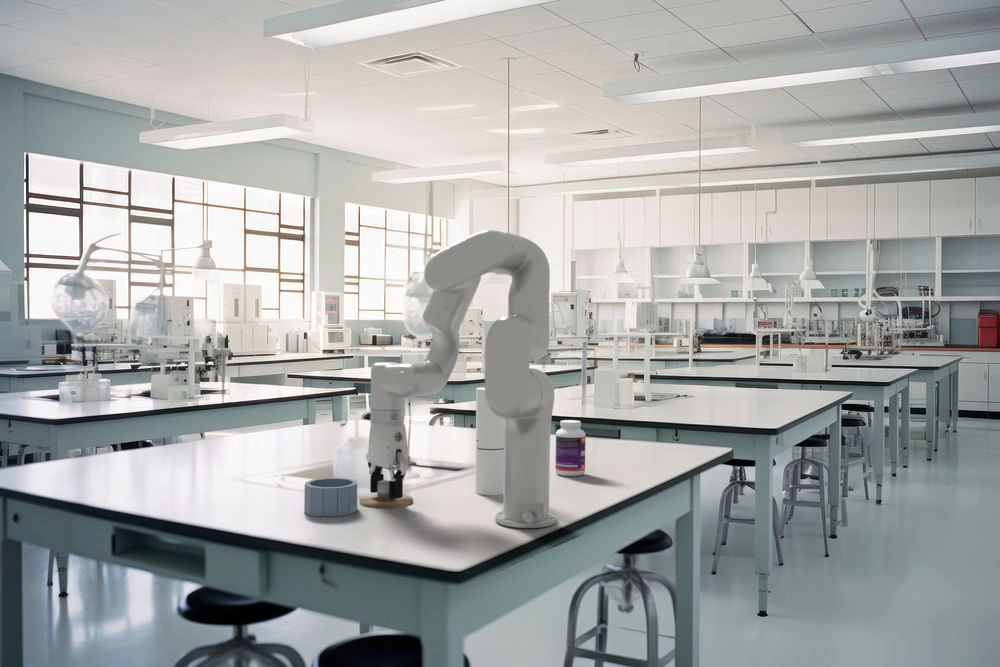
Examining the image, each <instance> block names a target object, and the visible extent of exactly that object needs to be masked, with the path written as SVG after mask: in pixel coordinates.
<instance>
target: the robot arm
mask: <svg viewBox="0 0 1000 667" xmlns="http://www.w3.org/2000/svg"><path fill="white" fill-rule="evenodd" d="M490 273H491V274H492V273H493V274H502V275H503V274H504V275H508V276H510V277H511V283H510V286H509V290H508V294H507V296H508V297H507V298H508V299H507V304H508V305H507V306H508V307H507V315H505V316H502V317H500V318H498V319H496V321H494V322H493V323H492V325H491V326H490V328H489V329H488V332H487V334H486V339H485V347H484V349H485V350H484V387H485V396H486V401H487V404H488V406H489V408H490V410H491V411H492V412H493V413H494V414H495V415H497V416H498V417H501V418H504V419H506V425H505V433H504V476H503V494H502V498H503V499H502V510H501V511H499V512H497V513H496V514H495V516H494V517H495V519H494V520H495V522H496V523H497V524H500V525H501V526H504V527H505V526H506V527H511V528H517V529H518V528H519V529H538V528H540V529H541V528H545V527H550V526H552V525H554V524H556V523H557V515H556V514H554V513H553V512H550V473H551V472H550V469H551V468H550V465H551V464H550V462H551V429H552V428H551V425H552V416H553V410H554V405H555V388H554V384H553V381H552V380H551V378H550V377H549V376H548V374H546V373H545V372H544V371H542V370H540V369H537V368H530V365H531V364H530V362H531V363H532V362H535V361H538V360H540V359H542V358H543V357H544V356H545V355H546V354H547V352H548V349H549V347H550V284H551V280H550V279H551V276H550V273H551V270H550V264H549V260H548V257H547V255H546V252H544V251H543V249H542V247H540V246H539V245H538V244H537V243H536V242H534V241H532V240H531V239H528V238H526V237H524V236H520V235H517V234H514V233H509V232H503V231H499V230H493V229H487V230H481V231H478V232H475V233H473V234H471V235H469V236H467V237H465V238H463V239H461V240H459V241H457V242H454V243H453V244H451V245H449V246H447V247H445V248H443V249H441V250H440V251H437V252H436V253H435V254H434V255H432V256H431V257H430V258H429V259H428V261H427V263H426V265H425V267H424V281H425V283H426V284H427V286H428V287H429V288H430V289H431V290H432V293H431V295H430V297H429V300H428V302H427V305H426V306H425V309H424V311H423V314H422V319H423V322H424V323H425V324H426V325H427V326H428V327H429V329H430V330H431V334H432V341H431V343H430V344H431V345H430V348H429V351H428V353H427V355H426V358H425V359H424V361H419V362H413V363H410V362H409V363H400V362H393V361H391V362H389V361H385V362H384V361H381V362H380V361H379V362H375V363H374V364H373V365H372V366H371V369H370V411H369V412H370V414H369V415H370V417H369V421H370V422H369V423H370V428H369V434H368V435H369V436H368V452H367V453H366V455H365V457H366V458H365V459H366V462H367V465H368V468H369V471H368V472H369V475H370V479H369V480H370V488H369V490H370V493H372V494H373V493H374V494H376V493H377V482H378V481H382V480H385V478H384V473H383V470H384V469H386V470H388V473H389V476H390V480H391V481H389V498H390V499H397V498H402V496H403V495H404V492H403V488H404V487H403V486H404V482H403V481H405V476H406V475H407V474H406V473H407V471H408V468H409V462H408V461H409V458H408V456H409V454H408V437H407V436H408V435H407V431H406V424H405V421H404V420H405V398H409V399H411V398H417V397H422V396H423V397H424V396H430V395H436V394H437V393H439V392H440V391H442V389H444V387H445V386H446V385H447V383H448V381H449V379H450V377H451V375H452V373H453V371H454V368H455V366H456V364H457V360H458V356H459V350H460V349H459V348H460V335H459V331H460V329H461V326H462V323H463V321H464V319H465V317H466V315H467V313H468V310H469V308H470V306H471V303H472V301H473V299H474V297H475V294H476V292H477V289H478V287H479V285H480V283H481V281H482V280H481V279H482V276H483V275H486V274H490Z"/></svg>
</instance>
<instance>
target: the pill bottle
mask: <svg viewBox="0 0 1000 667" xmlns="http://www.w3.org/2000/svg"><path fill="white" fill-rule="evenodd" d="M559 423H560V425H559V426H560V429H557V430H556V432H555V458H554V460H555V464H554V468H555V469H554V471H555V473H556V474H557V475H559V476H563V477H579V476H582V475H584V474H585V473H586V432H585V431H584V430H583V429H582V428H581V426H582V422H581V421H580V420H575V419H564V420H560V422H559Z"/></svg>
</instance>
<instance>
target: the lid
mask: <svg viewBox="0 0 1000 667" xmlns="http://www.w3.org/2000/svg"><path fill="white" fill-rule="evenodd" d="M389 481H391V479H388V480H387V479H384V480H382V481H378V482H377V492H376V494H377V496H368V495H365V496H366V497H365V496H363V497H361V498H360V499H358V500H359V501H358V502H359V504H362V505H364V506H363V507H365V506H368V507H367V508H371V507H375V508H374V509H395V508H396V507H398V508H402V507H403V508H404V507H407V506H411V505H412V504H413V503H414V498H413V497H412V496H410V495H407V494H403V496H402V498H397V499H390V498H389ZM362 505H361V506H362ZM396 509H397V508H396Z"/></svg>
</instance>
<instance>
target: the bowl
mask: <svg viewBox="0 0 1000 667" xmlns="http://www.w3.org/2000/svg"><path fill="white" fill-rule="evenodd" d="M303 507H304V512H303V513H304V514H306V515H309V516H310V517H311V516H312V517H319V516H321V518H326V517H325V516H329V517H330V516H337V517H343V516H342V515H344V516H349V515H352V514H354V512H355V513H357V511H358V480H356V479H352V478H345V477H323V478H316V479H315V478H314V479H311V480H308V481H305V483H304V506H303ZM329 517H328V518H329Z"/></svg>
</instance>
